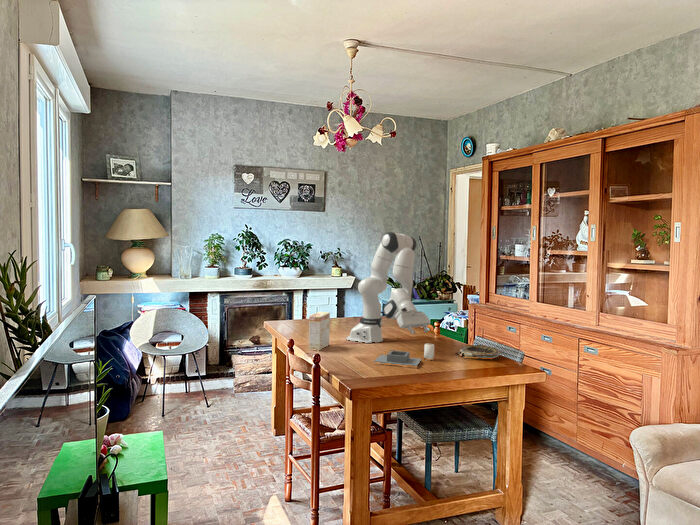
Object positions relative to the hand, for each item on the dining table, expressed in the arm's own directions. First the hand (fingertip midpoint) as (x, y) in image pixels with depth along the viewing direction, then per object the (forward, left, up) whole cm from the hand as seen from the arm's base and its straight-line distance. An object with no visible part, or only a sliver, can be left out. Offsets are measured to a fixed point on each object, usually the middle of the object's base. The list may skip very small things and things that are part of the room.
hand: (420, 332), depth 280 cm
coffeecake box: (-57, -2, -13) cm, 59 cm away
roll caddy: (-8, -17, -13) cm, 23 cm away
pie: (+32, +14, -14) cm, 37 cm away
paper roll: (+6, -4, -13) cm, 15 cm away
